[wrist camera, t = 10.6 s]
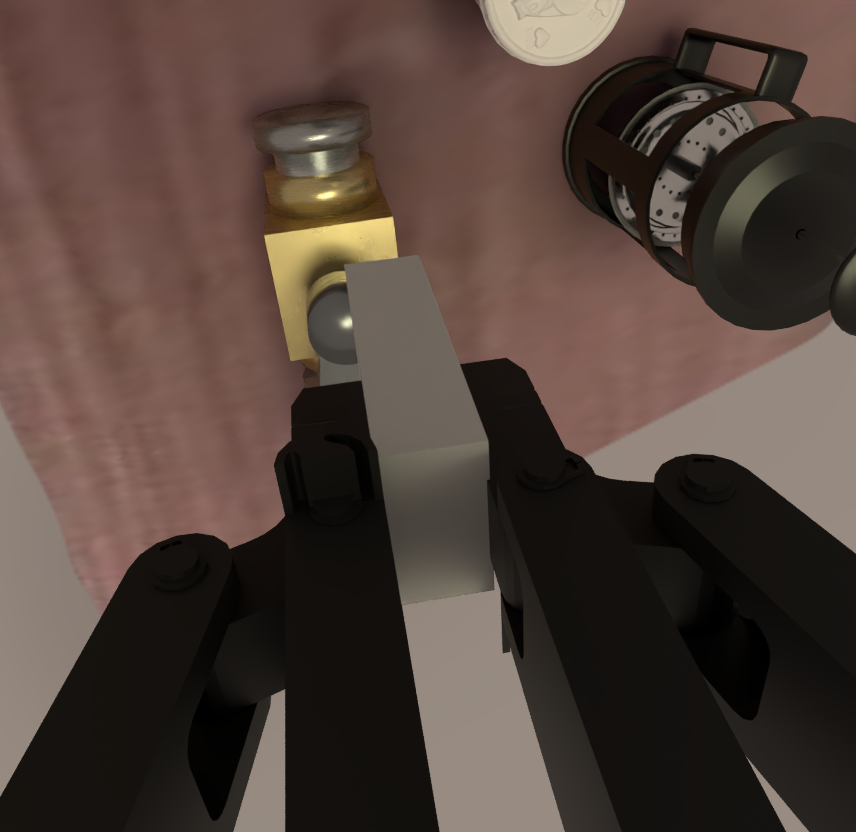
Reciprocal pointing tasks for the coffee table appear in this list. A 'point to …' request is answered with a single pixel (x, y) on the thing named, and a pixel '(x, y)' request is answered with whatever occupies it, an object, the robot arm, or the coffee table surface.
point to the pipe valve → (318, 207)
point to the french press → (727, 185)
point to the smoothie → (550, 27)
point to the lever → (332, 329)
